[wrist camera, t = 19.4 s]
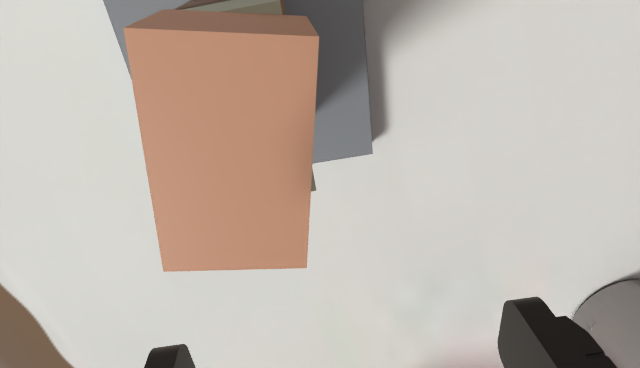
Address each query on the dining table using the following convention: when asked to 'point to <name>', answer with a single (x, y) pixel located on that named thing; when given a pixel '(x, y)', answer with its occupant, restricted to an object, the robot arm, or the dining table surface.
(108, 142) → the dining table surface
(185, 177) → the terracotta brick
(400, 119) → the dining table surface
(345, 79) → the baseplate
